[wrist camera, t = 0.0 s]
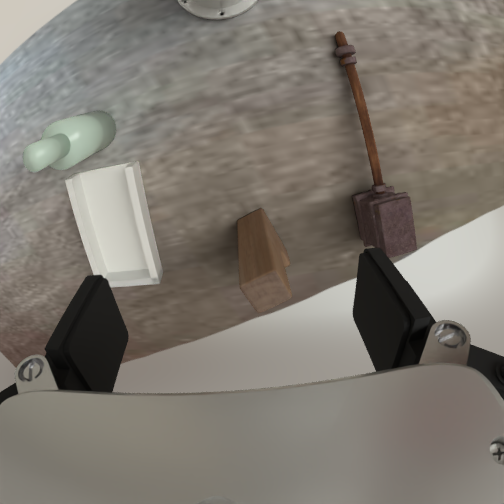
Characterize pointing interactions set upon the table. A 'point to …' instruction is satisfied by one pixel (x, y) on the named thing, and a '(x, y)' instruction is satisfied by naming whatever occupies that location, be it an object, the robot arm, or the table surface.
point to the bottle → (70, 141)
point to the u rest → (116, 224)
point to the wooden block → (262, 262)
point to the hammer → (377, 182)
